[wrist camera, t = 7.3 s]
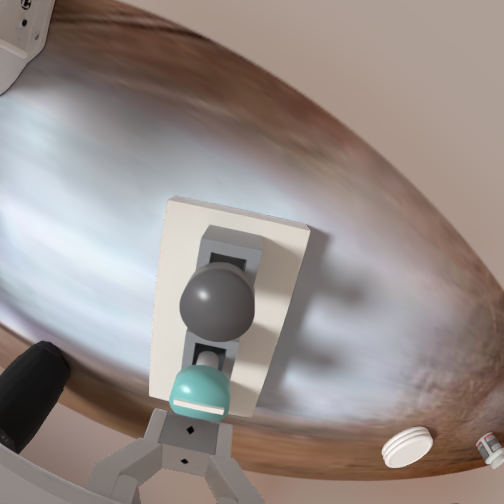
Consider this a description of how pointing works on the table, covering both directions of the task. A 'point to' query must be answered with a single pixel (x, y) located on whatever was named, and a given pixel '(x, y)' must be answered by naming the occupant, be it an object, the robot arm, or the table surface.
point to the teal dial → (201, 390)
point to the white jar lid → (407, 447)
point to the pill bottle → (490, 450)
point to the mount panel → (238, 254)
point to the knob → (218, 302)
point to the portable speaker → (30, 393)
